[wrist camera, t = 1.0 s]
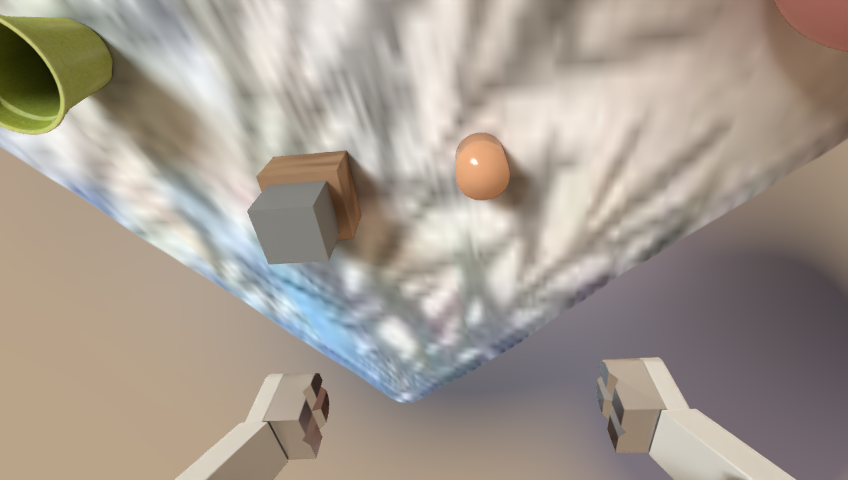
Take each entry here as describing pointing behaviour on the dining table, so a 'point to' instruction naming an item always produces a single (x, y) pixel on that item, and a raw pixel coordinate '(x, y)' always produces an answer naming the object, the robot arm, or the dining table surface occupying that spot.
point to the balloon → (818, 20)
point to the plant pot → (47, 70)
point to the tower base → (320, 169)
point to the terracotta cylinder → (481, 167)
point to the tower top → (295, 222)
